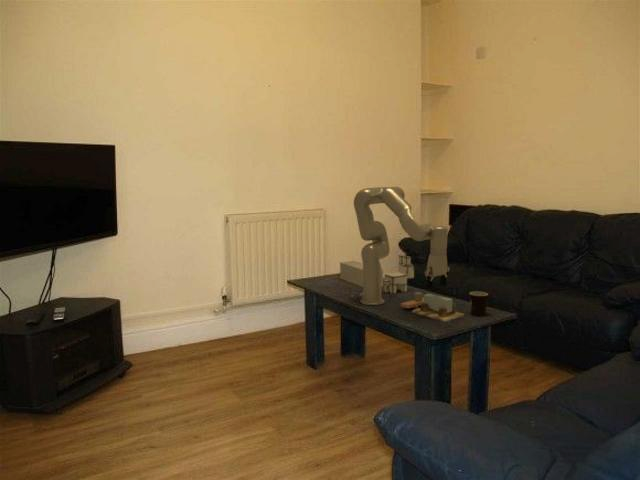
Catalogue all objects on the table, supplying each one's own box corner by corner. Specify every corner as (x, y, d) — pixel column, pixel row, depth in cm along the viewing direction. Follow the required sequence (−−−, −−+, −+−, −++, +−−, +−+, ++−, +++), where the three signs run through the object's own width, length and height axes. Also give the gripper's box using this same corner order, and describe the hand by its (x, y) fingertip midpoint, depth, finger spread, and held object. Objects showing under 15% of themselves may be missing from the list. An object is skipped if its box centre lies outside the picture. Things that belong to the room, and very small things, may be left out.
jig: (412, 312, 251) (412, 303, 250) (431, 307, 259) (431, 298, 259) (445, 321, 235) (445, 312, 235) (464, 315, 244) (464, 306, 243)
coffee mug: (485, 317, 241) (486, 296, 239) (467, 315, 245) (467, 294, 243) (490, 311, 251) (491, 291, 249) (472, 308, 255) (473, 289, 253)
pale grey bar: (423, 306, 251) (423, 294, 250) (428, 305, 254) (428, 293, 253) (447, 312, 240) (447, 300, 240) (452, 311, 243) (452, 298, 242)
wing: (401, 309, 257) (401, 295, 256) (427, 302, 269) (427, 289, 268) (408, 311, 253) (408, 297, 252) (434, 304, 265) (435, 290, 264)
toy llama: (381, 292, 291) (381, 257, 288) (405, 288, 299) (405, 254, 296) (389, 295, 284) (389, 259, 281) (413, 290, 293) (414, 256, 290)
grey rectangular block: (340, 279, 327) (340, 262, 326) (354, 277, 332) (354, 260, 331) (368, 289, 299) (368, 271, 298) (383, 287, 304) (383, 269, 303)
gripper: (443, 248, 251) (441, 282, 254) (420, 252, 241) (418, 288, 244) (456, 251, 245) (454, 285, 248) (432, 255, 235) (430, 291, 238)
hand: (436, 286), depth 246 cm, fingers open, 9 cm apart
